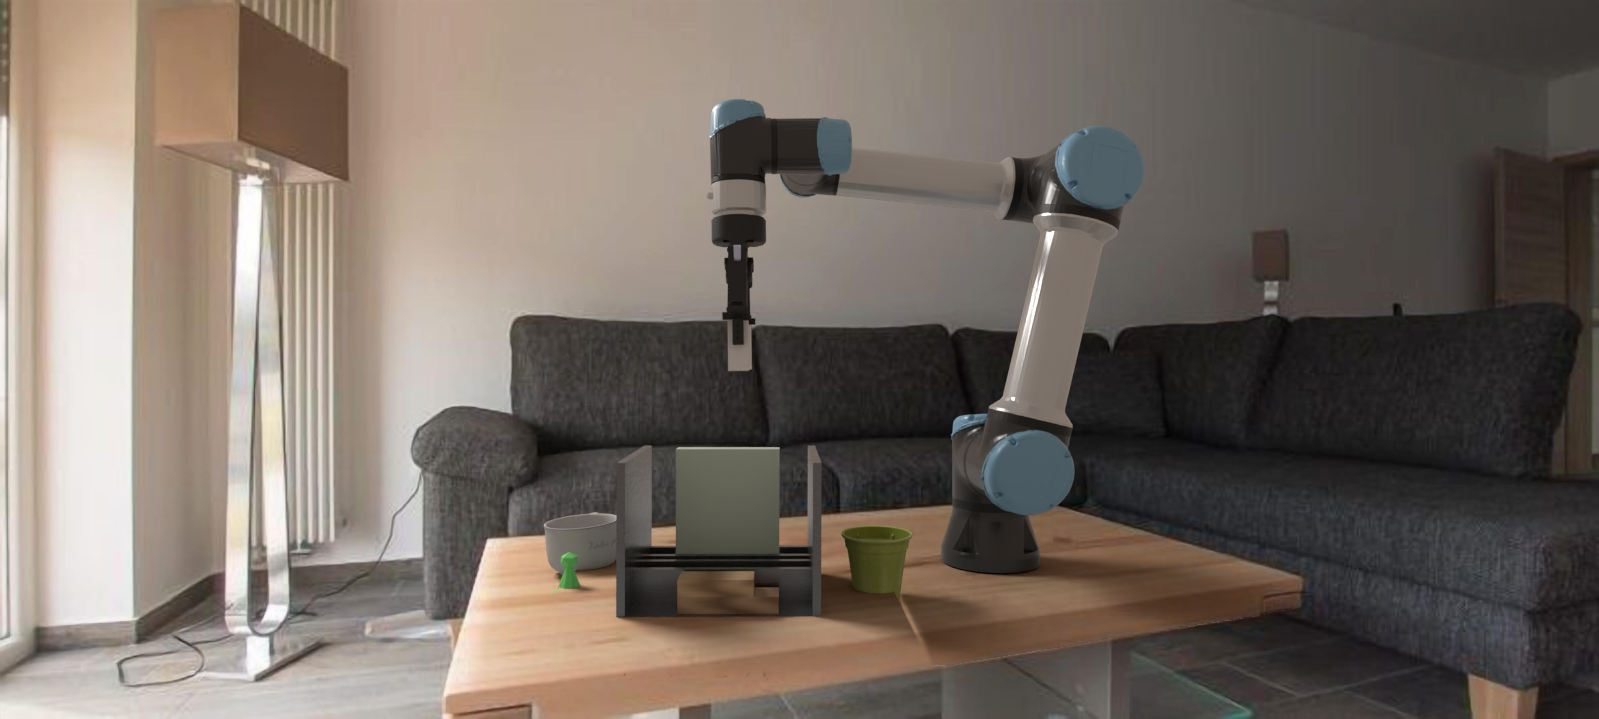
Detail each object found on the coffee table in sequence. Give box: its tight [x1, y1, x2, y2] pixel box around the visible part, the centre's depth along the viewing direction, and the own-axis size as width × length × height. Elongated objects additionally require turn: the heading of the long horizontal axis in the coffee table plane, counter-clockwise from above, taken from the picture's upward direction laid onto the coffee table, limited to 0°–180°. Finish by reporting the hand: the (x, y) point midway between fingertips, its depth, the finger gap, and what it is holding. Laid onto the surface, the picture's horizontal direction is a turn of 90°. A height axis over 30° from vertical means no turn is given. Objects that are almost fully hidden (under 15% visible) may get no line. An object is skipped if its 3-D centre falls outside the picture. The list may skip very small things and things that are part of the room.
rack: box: [615, 445, 823, 618], centre depth 105 cm, size 24×20×20 cm
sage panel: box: [675, 446, 781, 554], centre depth 112 cm, size 14×2×18 cm, turn 91°
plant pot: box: [840, 525, 913, 600], centre depth 108 cm, size 9×9×9 cm
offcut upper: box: [677, 571, 755, 597], centre depth 99 cm, size 9×4×2 cm, turn 91°
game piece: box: [552, 552, 581, 595], centre depth 109 cm, size 4×4×6 cm
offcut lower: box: [677, 587, 779, 614], centre depth 99 cm, size 12×4×2 cm, turn 91°
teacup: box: [543, 511, 616, 576], centre depth 123 cm, size 14×11×8 cm
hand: (740, 370), depth 113 cm, fingers open, 13 cm apart
